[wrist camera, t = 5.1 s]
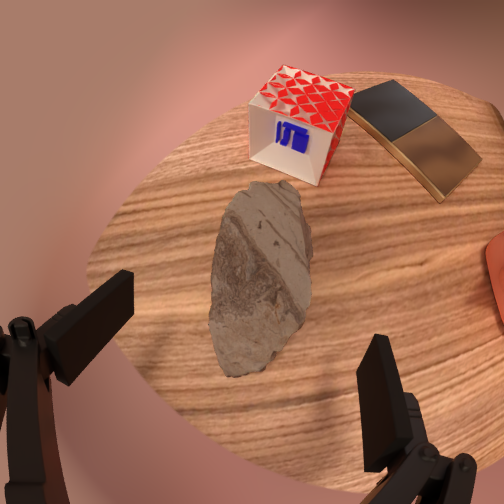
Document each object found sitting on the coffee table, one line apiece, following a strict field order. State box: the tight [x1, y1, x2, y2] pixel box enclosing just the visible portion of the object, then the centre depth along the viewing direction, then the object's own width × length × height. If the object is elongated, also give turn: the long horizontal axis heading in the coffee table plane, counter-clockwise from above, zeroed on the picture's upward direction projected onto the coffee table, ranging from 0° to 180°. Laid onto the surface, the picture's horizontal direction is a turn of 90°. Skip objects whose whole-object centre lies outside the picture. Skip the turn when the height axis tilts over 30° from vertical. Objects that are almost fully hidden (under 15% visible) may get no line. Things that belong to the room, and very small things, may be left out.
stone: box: [208, 180, 313, 378], centre depth 24 cm, size 15×9×10 cm
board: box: [348, 80, 482, 203], centre depth 34 cm, size 18×13×1 cm
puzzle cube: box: [248, 65, 355, 187], centre depth 29 cm, size 8×8×8 cm
